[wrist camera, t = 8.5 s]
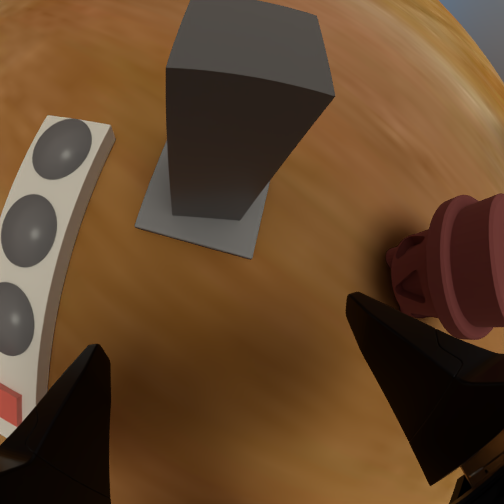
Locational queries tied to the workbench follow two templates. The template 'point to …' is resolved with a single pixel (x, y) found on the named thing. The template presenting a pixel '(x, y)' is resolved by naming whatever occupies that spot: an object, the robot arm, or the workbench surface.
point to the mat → (197, 219)
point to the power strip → (41, 253)
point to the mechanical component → (455, 267)
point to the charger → (239, 101)
